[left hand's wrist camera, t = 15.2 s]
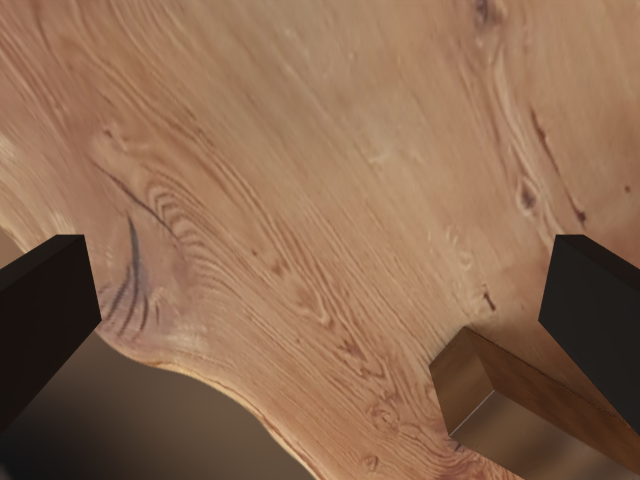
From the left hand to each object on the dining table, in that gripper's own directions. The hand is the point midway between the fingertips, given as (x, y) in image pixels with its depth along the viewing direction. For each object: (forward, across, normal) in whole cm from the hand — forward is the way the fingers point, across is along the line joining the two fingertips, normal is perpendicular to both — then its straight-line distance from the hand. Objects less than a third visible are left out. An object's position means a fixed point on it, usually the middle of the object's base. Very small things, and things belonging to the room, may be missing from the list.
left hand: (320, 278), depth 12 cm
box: (+29, +25, -30) cm, 49 cm away
